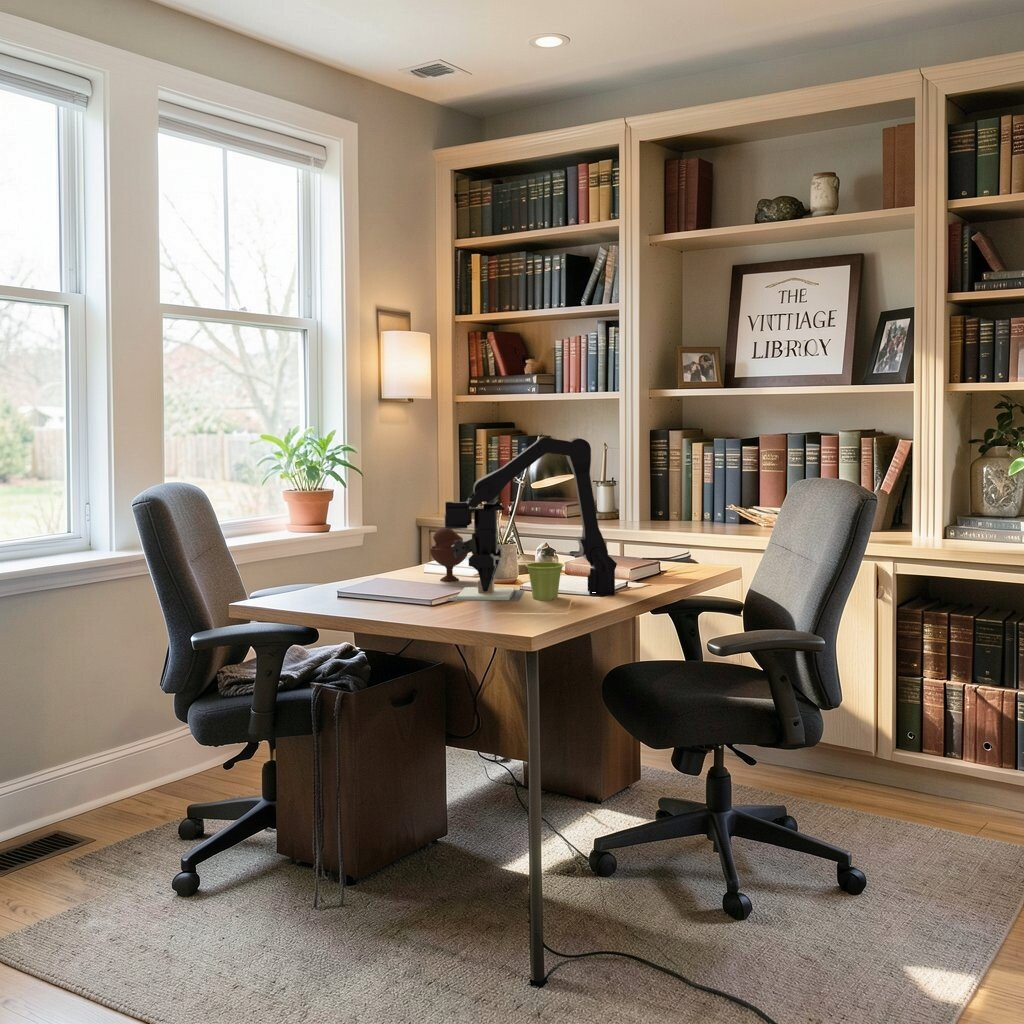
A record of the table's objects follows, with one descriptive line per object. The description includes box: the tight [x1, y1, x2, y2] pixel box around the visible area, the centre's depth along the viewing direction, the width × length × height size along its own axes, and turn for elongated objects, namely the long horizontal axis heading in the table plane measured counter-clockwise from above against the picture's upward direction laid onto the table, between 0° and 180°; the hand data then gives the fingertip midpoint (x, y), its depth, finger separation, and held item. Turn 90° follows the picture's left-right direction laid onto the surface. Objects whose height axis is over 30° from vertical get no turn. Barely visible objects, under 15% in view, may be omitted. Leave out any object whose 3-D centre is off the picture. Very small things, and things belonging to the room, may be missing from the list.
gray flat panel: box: [445, 589, 526, 603], centre depth 271 cm, size 18×16×1 cm
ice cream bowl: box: [429, 526, 469, 583], centre depth 293 cm, size 11×11×15 cm
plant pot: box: [525, 561, 564, 601], centre depth 266 cm, size 9×9×9 cm
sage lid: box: [457, 578, 516, 600], centre depth 271 cm, size 13×13×4 cm
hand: (486, 589), depth 271 cm, fingers closed on sage lid, 4 cm apart
